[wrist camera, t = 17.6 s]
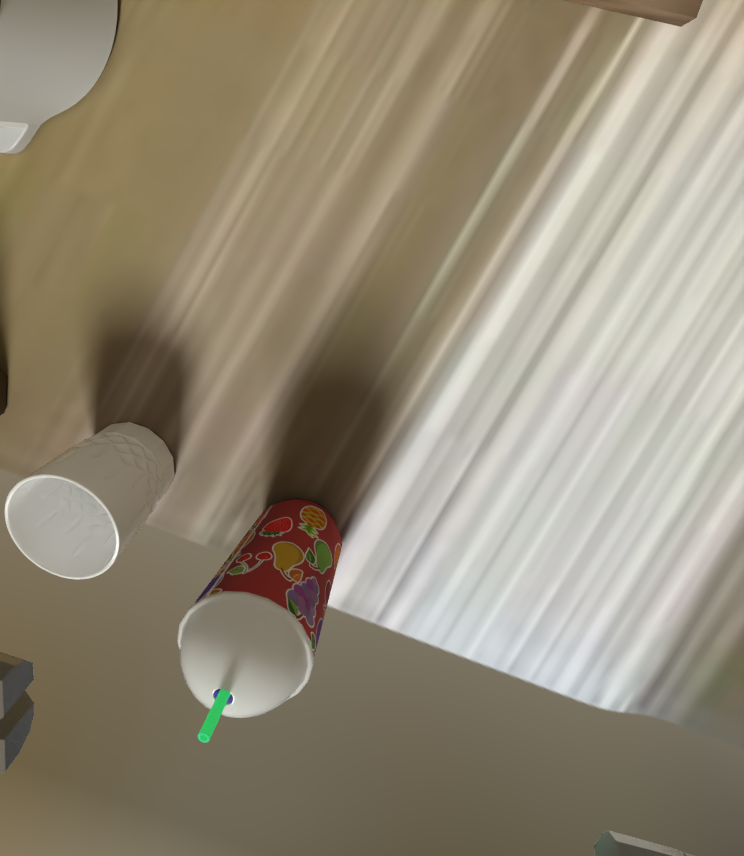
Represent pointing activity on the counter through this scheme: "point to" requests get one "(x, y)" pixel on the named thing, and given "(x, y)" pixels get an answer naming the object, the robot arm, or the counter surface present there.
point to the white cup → (89, 500)
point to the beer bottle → (2, 392)
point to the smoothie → (261, 614)
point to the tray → (651, 9)
